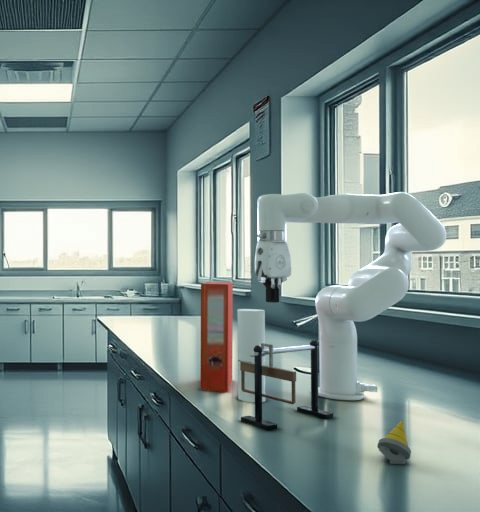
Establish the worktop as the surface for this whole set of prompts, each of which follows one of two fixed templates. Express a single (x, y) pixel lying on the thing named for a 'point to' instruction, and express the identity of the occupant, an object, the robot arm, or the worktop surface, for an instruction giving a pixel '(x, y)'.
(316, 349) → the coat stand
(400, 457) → the yellow grey cone
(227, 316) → the file binder
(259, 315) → the cylindrical container
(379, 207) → the robot arm
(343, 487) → the worktop surface
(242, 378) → the brown clothes hanger
